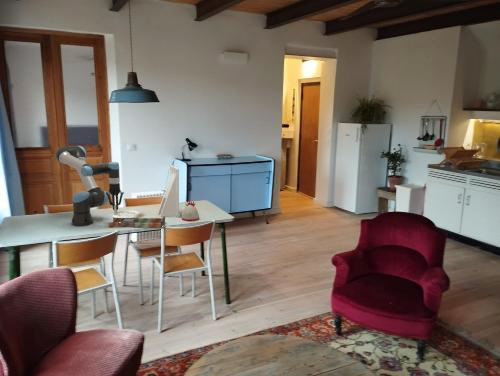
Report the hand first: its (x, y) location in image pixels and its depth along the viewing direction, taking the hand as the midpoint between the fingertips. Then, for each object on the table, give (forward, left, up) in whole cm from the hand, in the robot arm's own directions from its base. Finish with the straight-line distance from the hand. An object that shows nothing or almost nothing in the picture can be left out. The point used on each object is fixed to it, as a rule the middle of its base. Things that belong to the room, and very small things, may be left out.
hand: (115, 214), depth 305 cm
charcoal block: (+9, 0, -9) cm, 13 cm away
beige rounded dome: (+54, +18, -9) cm, 58 cm away
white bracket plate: (+34, +29, -9) cm, 46 cm away
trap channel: (+15, 0, -8) cm, 17 cm away
